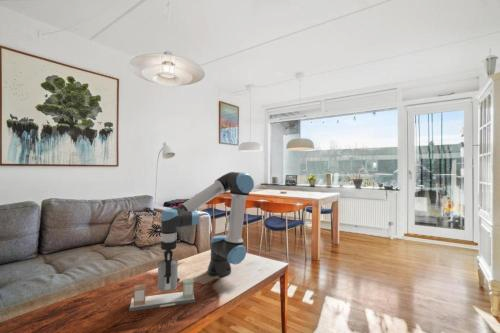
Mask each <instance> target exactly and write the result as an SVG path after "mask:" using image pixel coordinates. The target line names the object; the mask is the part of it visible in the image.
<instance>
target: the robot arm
mask: <svg viewBox="0 0 500 333" xmlns="http://www.w3.org/2000/svg"><path fill="white" fill-rule="evenodd" d="M213 182H214V183H212V184H210V185H209V186H208V187H206V188H204V189H203V190H201V191H200V192H198V193H197V194H195V195H194V196H192V197H191V198H189V199H188V200H186V201H185V202H183V203H182V204H180V205H178V206H173V207H171V208H167V209H164V210H162V211H161V218H160V223H161V224H160V225H161V226H160V227H161V228H160V230H161V231H160V234H159V237H160V240H161V241H160V249H161V250H163V251H164V252H163V256H164V260H165V262H166V273H165V276H164V277H165V290H169V289H171V262H172V259H173V250H175V249H177V237H178V236H177V234H178V228H185V227H193V226H197V225H198V224H199V221H200V215H199V213H198V211H197V210H198V209H199V208H202V206H204V205H205V204H207V203H208V202H210V201H211V200H213V199H214V198H216V197H217V196H219V195H220V194H224V193H226V192H228V191H230V192H229V195H230V196H231V202H230V210H229V218H228V219H229V220H228V229H227V234H220V235H214V236H213V237H211V239H210V261H209V264H208V266H207V274H208V275H210V276H212V277H219V278H221V277H225V276H229V275H230V274H232V266H231V265H234V266H235V265H239V264H241V263H242V262H243V261H244V260H245V258H246V255H247V249H246V248H245V246H244V239H243V238H242V236H243V227H244V220H245V218H244V217H245V210H246V209H245V208H246V202H247V198H248V197H249V196H250V193H251V192H252V190H254V187H255V182H254V178H253V177H252V176H251V175H250V174H249V173H246V172H236V171H230V172H227V173H225V174H224V175H221V176H220V177H218V178H217V179H215V180H214V181H213Z"/></svg>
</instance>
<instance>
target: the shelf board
mask: <svg viewBox="0 0 500 333" xmlns="http://www.w3.org/2000/svg"><path fill="white" fill-rule="evenodd" d="M189 303H190V304H191V303H196V299H195V295H194V293H193V298H188V299H183V291H180V292H172V293H171V292H170V293H164V294H163V293H162V294H154V295H149V296H146V299H145V304H143V305H136V306H134V297H132V298H131V301H130V306H129V307H128V312H133V311H134V312H135V311H142V310H147V309H148V310H149V309H157V308H163V307H172V306H176V305H184V304H189Z"/></svg>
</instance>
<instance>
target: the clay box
mask: <svg viewBox="0 0 500 333" xmlns="http://www.w3.org/2000/svg"><path fill="white" fill-rule="evenodd" d="M146 288H147V287H146V283H144V284H135V285H134V287H133V298H134V306H136V305H143V304H145V299H146V292H147V291H146V290H147V289H146Z"/></svg>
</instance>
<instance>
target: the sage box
mask: <svg viewBox="0 0 500 333" xmlns="http://www.w3.org/2000/svg"><path fill="white" fill-rule="evenodd" d="M194 286H195V285H194V278H188V279H187V278H186V279H183V280H182V292H183V299H188V298H193V294H194Z"/></svg>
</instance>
